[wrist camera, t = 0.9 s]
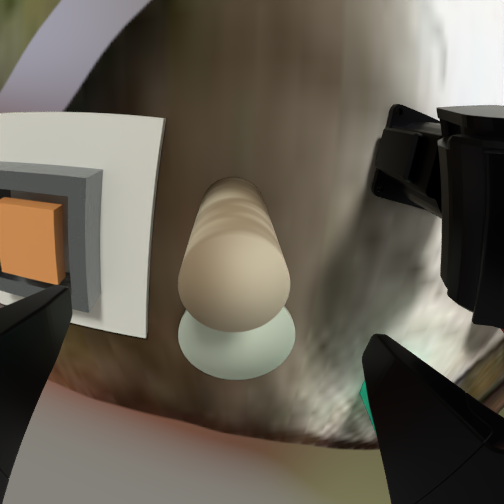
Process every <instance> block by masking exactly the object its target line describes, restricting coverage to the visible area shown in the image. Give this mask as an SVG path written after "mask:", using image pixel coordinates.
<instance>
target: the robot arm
mask: <svg viewBox="0 0 504 504" xmlns="http://www.w3.org/2000/svg"><path fill="white" fill-rule="evenodd" d="M398 108H399V110H400V114H399V115H398V114H397V112H396V110H397V109H398ZM437 115H438V118H440V121H438V120H436V119H434V118H432V117H429V116H427V115H425V114H422V113H420V112H418V111H415V110H413V109H411V108H408V107H406V106H403V105H400V104H395V105H393V106H392V107H391V110H390V114H389V119H388V123H387V128H385V129H384V130H383V134H382V138H381V143H380V147H379V151H378V155H377V159H376V163H375V165H376V167H377V168H376V172H375V176H374V180H373V183H372V187H371V190H372V193H373V194H374V195H376V196H378V197H381V198H385V199H389V200H392V201H396V202H400V203H403V204H407V205H411V206H414V207H418V208H421V209H425V210H428V211H430V212H431V213H433V214H435V215H436V216H438V217H439V218H441V219H442V246H441V272H440V276H441V278H442V280H443V282H444V284H445V286H446V287H447V289H448V291H447V295H448V296H449V297H450V298H451V299H452V300H453V301H455V302H456V303H457V304H458V305H460V306H461V307H463V308H465V309H467V310H469V311H470V312H473V317H472V322H473V323H474V324H478V325H487V326H494V327H498V328H501V329H504V106H499V105H477V106H454V107H438V108H437ZM379 186H381V190H380V191H379V192H377V188H378V187H379ZM72 313H73V311H72V302H71V292H70V289H69V288H68V287H66V286H61V285H54V286H52V287H49V288H47V289H44V290H42V291H40V292H37V293H35V294H32V295H30V296H28V297H25V298H23V299H21V300H18V301H16V302H14V303H11V304H9V305H7V306H4V307H2V308H0V504H2V502H3V498H4V495H5V492H6V488H7V485H8V482H9V479H8V478H10V475H11V471H12V468H13V465H14V462H15V459H16V456H17V454H18V451H19V448H20V445H21V442H22V440H23V437H24V434H25V432H26V429H27V426H28V424H29V421H30V419H31V416H32V414H33V412H34V409H35V407H36V404H37V402H38V400H39V397H40V395H41V393H42V390H43V388H44V386H45V384H46V382H47V379H48V377H49V375H50V373H51V371H52V369H53V366H54V364H55V362H56V360H57V357H58V354H59V352H60V349H61V346H62V343H63V340H64V338H65V335H66V332H67V329H68V327H69V324H70V322H71V319H72ZM362 364H363V370H364V376H365V383H366V390H367V396H368V402H369V406H370V410H371V414H372V418H373V422H374V426H375V430H376V435H377V439H378V443H379V447H380V452H381V456H382V461H383V465H384V470H385V474H386V479H387V484H388V489H389V494H390V499H391V504H504V418H503V417H502V416H500V415H499V414H497V413H495V412H494V411H492V410H491V409H489V408H488V407H486V406H485V405H483V404H482V403H480V402H479V401H478V400H476V399H475V398H473V397H472V396H471V395H469V394H468V393H465V391H464V390H462V389H461V388H460V387H458V386H457V385H455V384H454V383H453V382H451V381H450V380H449V379H447V378H446V377H444V376H443V375H442V374H440V373H439V372H438V371H436V370H435V369H433V368H432V367H431V366H429V365H428V364H426V363H425V362H424V361H422V360H421V359H419V358H418V357H417V356H415V355H414V354H413V353H411V352H410V351H408V350H407V349H406V348H404V347H403V346H401V345H400V344H399V343H397V342H396V341H394V340H393V339H392V338H390V337H389V336H387V335H385V334H374V335H373V336H372V337H371V339H370V341H369V343H368V345H367V347H366V349H365V351H364V353H363V356H362Z"/></svg>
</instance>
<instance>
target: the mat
mask: <svg viewBox="0 0 504 504" xmlns="http://www.w3.org/2000/svg"><path fill="white" fill-rule="evenodd" d="M178 339H179V344H180V347H181V350H182V352H183V354H184V355H185V357H186V358H187V359H188V360H189V362H190V363H191V364H192V365H194V366H195V367H196V368H198V369H199V370H201V371H202V372H204V373H206V374H209V375H211V376H214V377H218V378H222V379H228V380H244V379H250V378H255V377H258V376H261V375H264V374H266V373H268V372H270V371H272V370H274V369H275V368H276V367H278V366H279V365H280V364H281V363H282V362H283V361H284V360H285V359H286V358H287V357H288V355H289V354H290V352H291V350H292V348H293V345H294V341H295V327H294V323H293V320H292V317H291V315H290V312H289V311H288V309H287V308H286V307H285V305H284V307H283V308H282V310H281V311H280V312H279V313H278V314H277V315H276V317H274V318H273V319H272V320H271V321H269V322H268V323H266V324H265V325H263V326H261V327H259V328H256V329H253V330H250V331H245V332H233V333H232V332H223V331H218V330H215V329H212V328H209V327H207V326H205V325H203V324H201V323H200V322H198V321H197V320H196V319H195V318H194V317H192V316H191V315H190V313H189V312H188V311H187V310H185V312H184V314H183V316H182V318H181V321H180V326H179V331H178Z"/></svg>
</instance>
